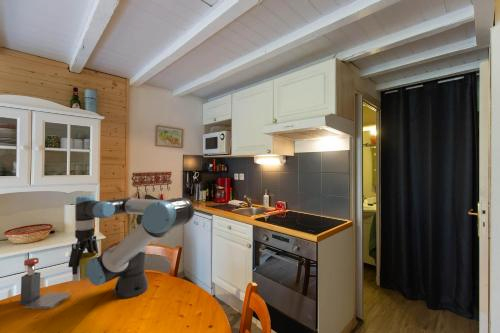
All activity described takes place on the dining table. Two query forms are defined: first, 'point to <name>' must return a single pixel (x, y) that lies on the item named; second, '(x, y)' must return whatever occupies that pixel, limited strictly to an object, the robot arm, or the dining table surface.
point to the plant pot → (85, 263)
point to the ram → (31, 265)
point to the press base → (38, 294)
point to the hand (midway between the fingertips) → (84, 275)
